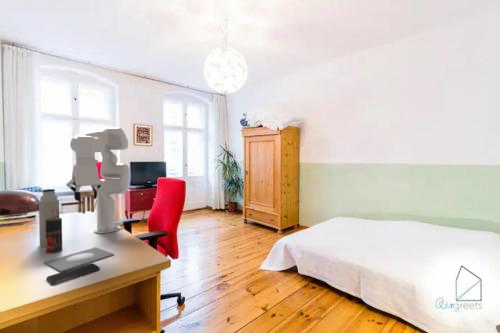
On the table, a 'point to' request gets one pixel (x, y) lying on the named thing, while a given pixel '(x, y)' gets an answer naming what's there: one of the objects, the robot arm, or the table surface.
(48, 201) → the thermos bottle
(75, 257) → the mat
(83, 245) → the table surface
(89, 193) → the stool
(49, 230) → the deodorant
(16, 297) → the table surface
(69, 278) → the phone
